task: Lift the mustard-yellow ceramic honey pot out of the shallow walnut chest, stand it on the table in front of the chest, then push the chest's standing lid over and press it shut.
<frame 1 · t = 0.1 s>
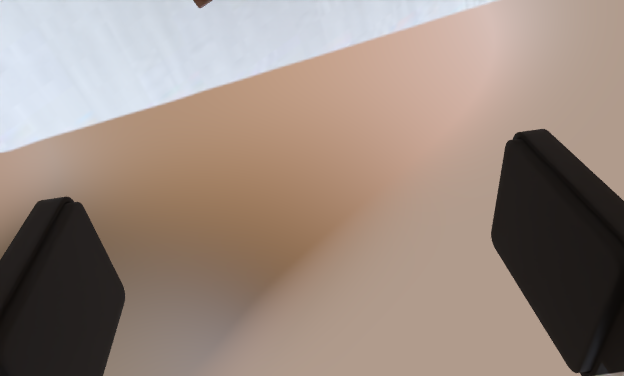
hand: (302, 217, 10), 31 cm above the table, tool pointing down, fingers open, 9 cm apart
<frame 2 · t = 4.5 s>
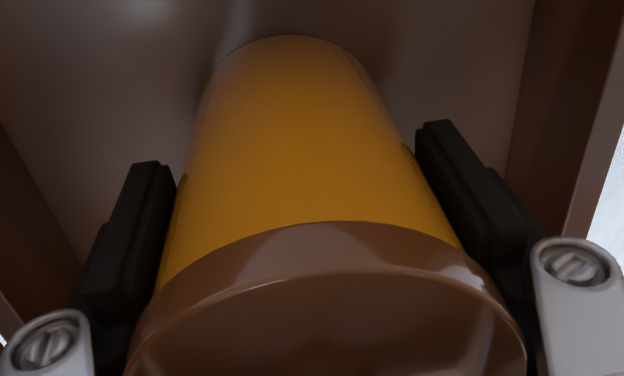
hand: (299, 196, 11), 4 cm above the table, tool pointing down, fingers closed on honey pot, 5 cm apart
chest: (273, 117, 15), on the table
honey pot: (290, 127, 14), point 1 cm above the table, touching chest, gripper
when the fingers open (4 cm above the table, at t = 11.6 s): honey pot stays where it is, on the table.
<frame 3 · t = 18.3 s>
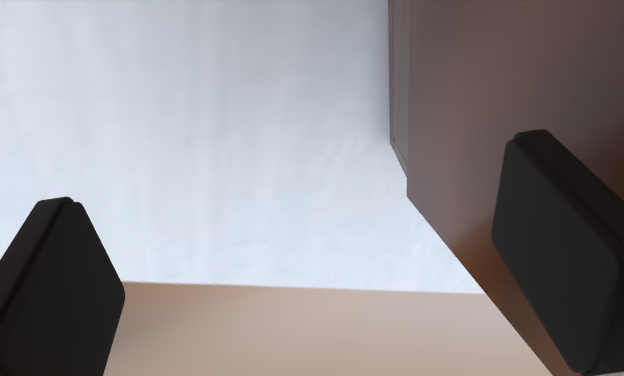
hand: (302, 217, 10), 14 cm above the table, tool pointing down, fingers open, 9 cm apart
chest lid: (593, 166, 11), point 13 cm above the table, hinge at 78.9°, touching gripper
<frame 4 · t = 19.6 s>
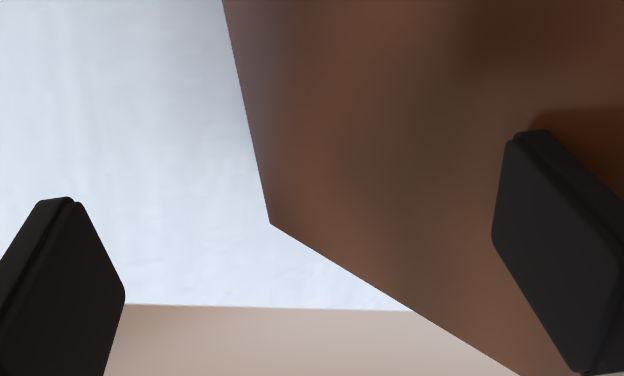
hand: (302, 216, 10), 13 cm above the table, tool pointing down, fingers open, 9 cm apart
chest lid: (454, 149, 12), point 11 cm above the table, hinge at 50.5°, touching gripper
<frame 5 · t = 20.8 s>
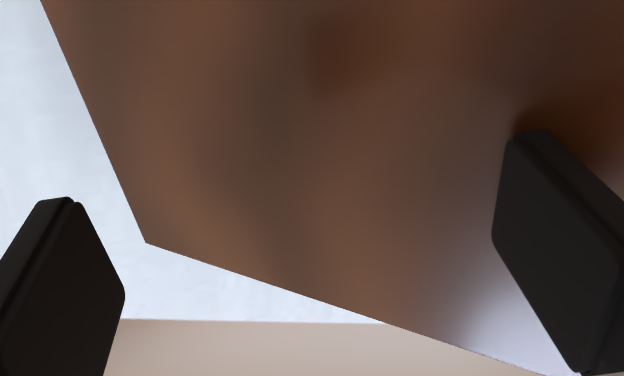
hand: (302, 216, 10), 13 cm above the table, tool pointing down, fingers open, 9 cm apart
chest lid: (296, 135, 14), point 10 cm above the table, hinge at 33.2°, touching gripper
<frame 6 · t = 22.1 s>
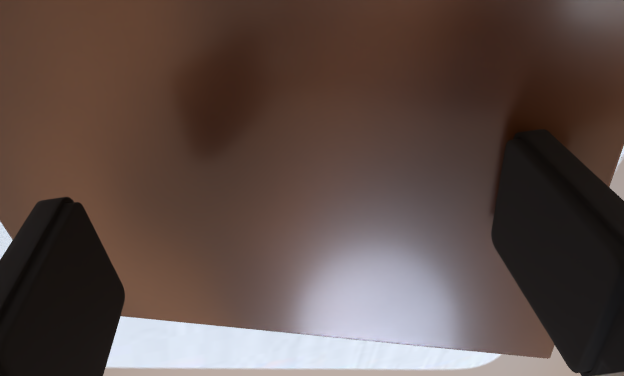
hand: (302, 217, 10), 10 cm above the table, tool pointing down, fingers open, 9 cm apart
chest lid: (241, 161, 12), point 7 cm above the table, hinge at 16.5°
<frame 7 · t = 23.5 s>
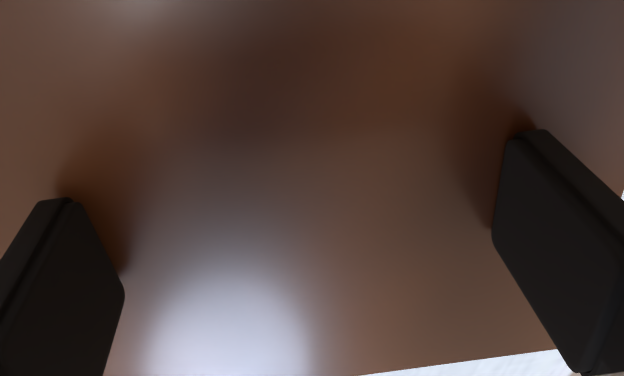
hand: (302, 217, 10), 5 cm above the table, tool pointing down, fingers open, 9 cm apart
chest lid: (254, 208, 11), point 5 cm above the table, hinge at 1.1°, touching gripper
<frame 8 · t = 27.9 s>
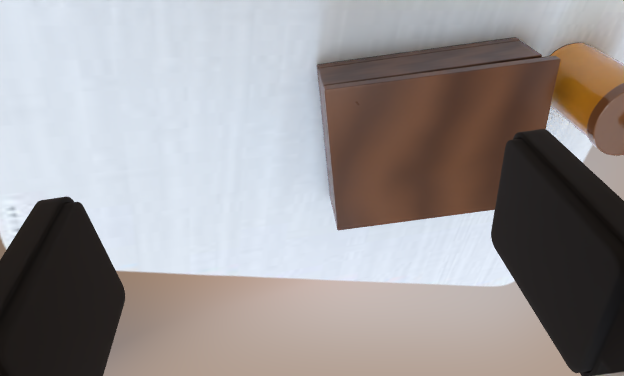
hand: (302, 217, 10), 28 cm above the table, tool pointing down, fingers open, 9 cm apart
chest lid: (436, 151, 38), point 5 cm above the table, hinge at 1.1°
chest: (414, 124, 42), on the table
honey pot: (567, 74, 41), on the table
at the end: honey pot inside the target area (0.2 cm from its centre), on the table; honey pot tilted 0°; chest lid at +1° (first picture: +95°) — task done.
